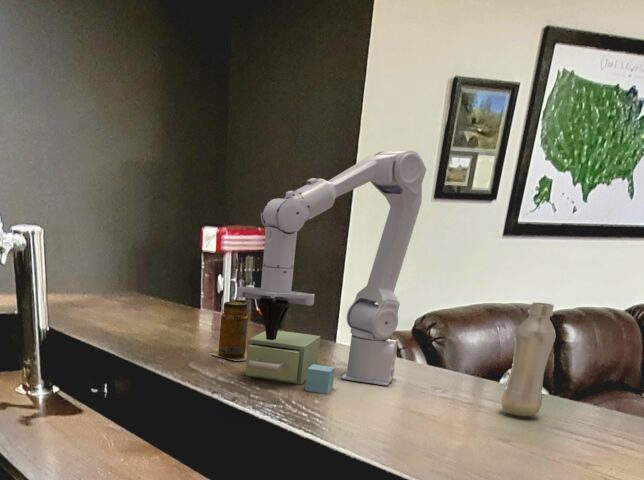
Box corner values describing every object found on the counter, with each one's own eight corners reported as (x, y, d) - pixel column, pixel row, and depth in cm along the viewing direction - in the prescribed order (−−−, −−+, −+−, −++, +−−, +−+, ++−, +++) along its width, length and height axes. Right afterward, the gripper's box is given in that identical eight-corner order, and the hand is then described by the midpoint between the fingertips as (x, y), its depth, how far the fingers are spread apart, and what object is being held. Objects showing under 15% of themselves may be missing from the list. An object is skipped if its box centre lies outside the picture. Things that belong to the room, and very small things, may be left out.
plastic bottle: (542, 422, 127) (568, 308, 121) (502, 417, 128) (525, 304, 122) (533, 412, 133) (558, 303, 127) (495, 408, 134) (517, 300, 128)
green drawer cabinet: (300, 384, 143) (304, 346, 141) (245, 376, 147) (248, 339, 145) (316, 371, 155) (320, 336, 153) (265, 363, 159) (268, 329, 157)
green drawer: (287, 387, 137) (291, 357, 135) (236, 379, 140) (238, 350, 138) (310, 369, 152) (313, 342, 150) (263, 362, 156) (266, 336, 154)
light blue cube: (332, 389, 141) (335, 367, 140) (327, 394, 137) (330, 371, 136) (310, 385, 143) (312, 364, 141) (304, 390, 139) (307, 368, 137)
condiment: (232, 351, 169) (236, 300, 165) (258, 359, 163) (262, 305, 159) (209, 354, 165) (212, 301, 161) (234, 362, 159) (238, 307, 155)
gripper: (234, 264, 133) (228, 337, 138) (310, 272, 128) (302, 347, 133) (246, 262, 139) (240, 332, 144) (320, 269, 134) (311, 341, 139)
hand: (271, 339), depth 139 cm, fingers closed
